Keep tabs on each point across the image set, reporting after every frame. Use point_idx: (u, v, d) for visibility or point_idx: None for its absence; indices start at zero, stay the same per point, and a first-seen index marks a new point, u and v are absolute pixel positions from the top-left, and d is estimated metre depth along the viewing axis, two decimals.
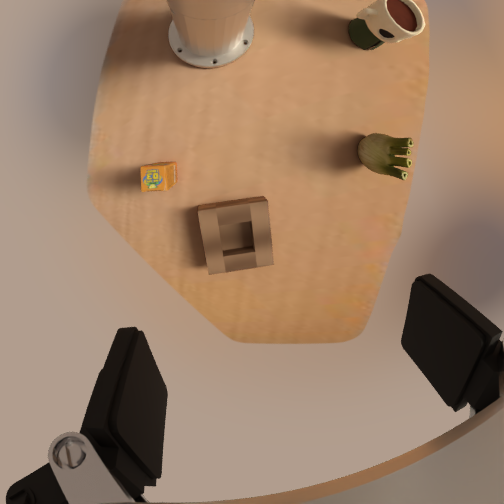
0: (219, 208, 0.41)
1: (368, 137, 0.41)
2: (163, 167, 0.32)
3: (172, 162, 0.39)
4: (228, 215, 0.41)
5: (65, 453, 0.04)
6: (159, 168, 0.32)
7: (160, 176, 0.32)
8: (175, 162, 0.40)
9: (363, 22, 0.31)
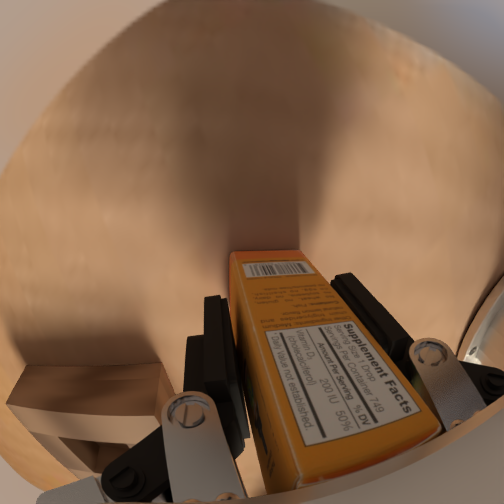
0: None
1: None
2: None
3: None
4: None
5: (182, 414, 0.05)
6: None
7: None
8: None
9: None
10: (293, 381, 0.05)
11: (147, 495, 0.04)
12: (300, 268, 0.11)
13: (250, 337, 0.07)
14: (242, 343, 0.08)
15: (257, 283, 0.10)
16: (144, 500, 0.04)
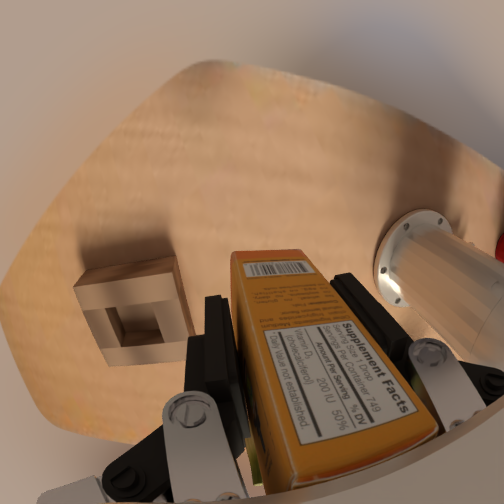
0: (178, 303, 0.25)
1: None
2: None
3: None
4: (169, 314, 0.26)
5: (183, 414, 0.05)
6: None
7: None
8: None
9: None
10: (291, 380, 0.05)
11: (148, 495, 0.04)
12: (300, 268, 0.11)
13: (249, 337, 0.07)
14: (242, 342, 0.08)
15: (257, 283, 0.10)
16: (145, 500, 0.04)
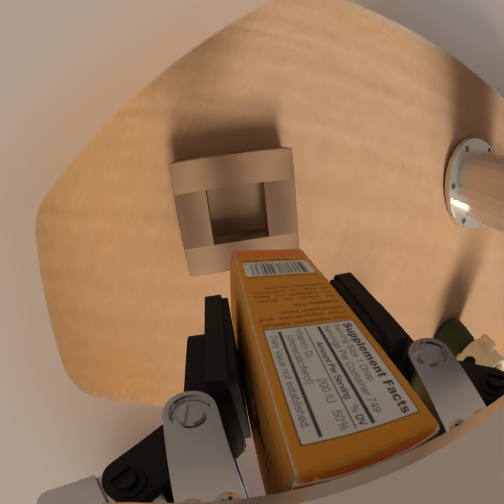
0: (293, 184, 0.24)
1: None
2: None
3: None
4: (280, 198, 0.24)
5: (183, 414, 0.05)
6: None
7: None
8: None
9: (468, 336, 0.34)
10: (291, 380, 0.05)
11: (148, 495, 0.04)
12: (300, 267, 0.11)
13: (248, 337, 0.07)
14: (242, 342, 0.08)
15: (257, 282, 0.10)
16: (145, 500, 0.04)
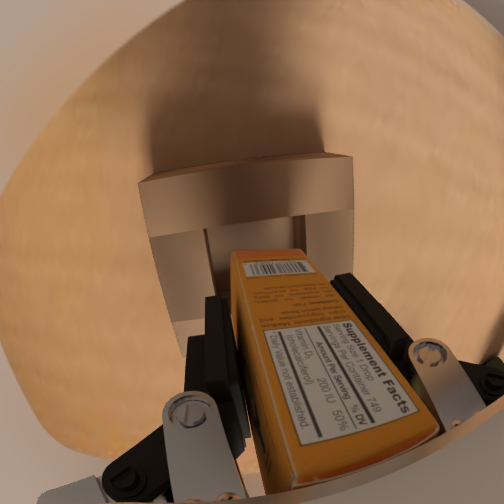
0: (351, 218, 0.14)
1: None
2: None
3: None
4: (331, 242, 0.14)
5: (183, 414, 0.05)
6: None
7: None
8: None
9: None
10: (291, 380, 0.05)
11: (148, 495, 0.04)
12: (300, 267, 0.11)
13: (248, 337, 0.07)
14: (242, 342, 0.08)
15: (257, 282, 0.10)
16: (145, 500, 0.04)
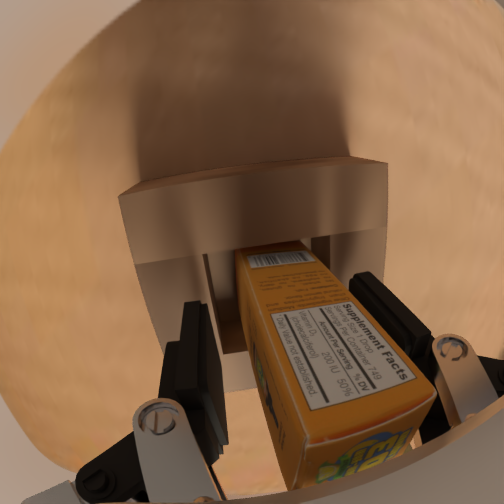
0: (383, 238, 0.11)
1: None
2: None
3: None
4: (358, 267, 0.12)
5: (152, 420, 0.05)
6: (396, 456, 0.05)
7: None
8: None
9: None
10: (298, 355, 0.06)
11: (119, 496, 0.04)
12: (301, 257, 0.11)
13: (257, 321, 0.08)
14: (250, 328, 0.09)
15: (262, 272, 0.10)
16: None
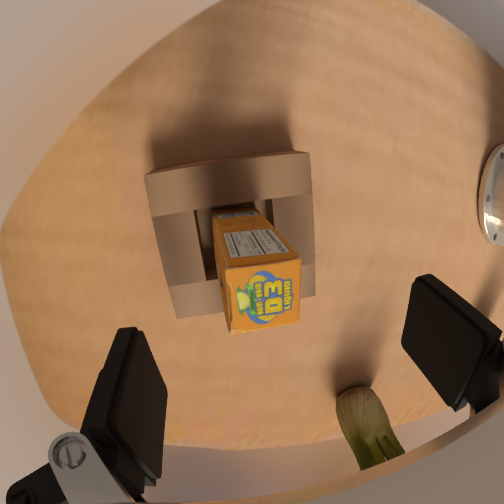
0: (310, 201, 0.18)
1: (377, 397, 0.29)
2: (294, 320, 0.12)
3: None
4: (294, 220, 0.18)
5: (65, 453, 0.04)
6: (293, 311, 0.12)
7: (271, 317, 0.12)
8: None
9: None
10: (231, 244, 0.13)
11: None
12: (251, 213, 0.18)
13: (216, 238, 0.15)
14: (215, 249, 0.16)
15: (224, 220, 0.17)
16: None
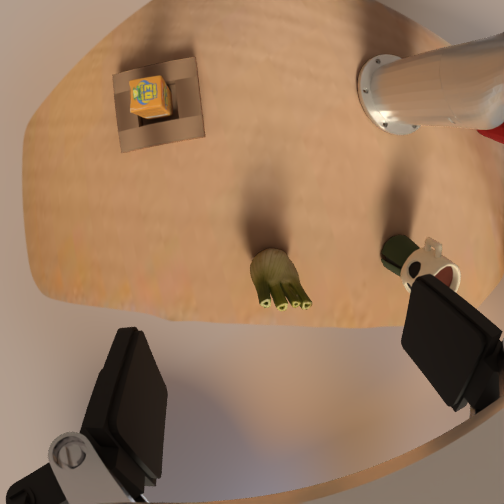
0: (196, 80, 0.28)
1: (289, 259, 0.39)
2: (159, 103, 0.23)
3: (171, 111, 0.30)
4: (187, 90, 0.29)
5: (65, 453, 0.04)
6: (158, 98, 0.22)
7: (147, 101, 0.22)
8: (171, 114, 0.31)
9: (415, 247, 0.38)
10: None
11: None
12: None
13: None
14: None
15: None
16: None
